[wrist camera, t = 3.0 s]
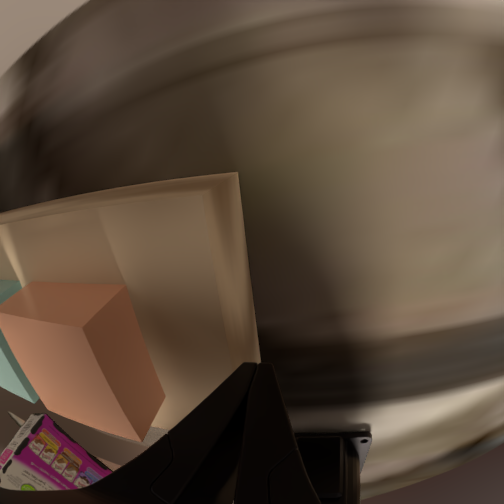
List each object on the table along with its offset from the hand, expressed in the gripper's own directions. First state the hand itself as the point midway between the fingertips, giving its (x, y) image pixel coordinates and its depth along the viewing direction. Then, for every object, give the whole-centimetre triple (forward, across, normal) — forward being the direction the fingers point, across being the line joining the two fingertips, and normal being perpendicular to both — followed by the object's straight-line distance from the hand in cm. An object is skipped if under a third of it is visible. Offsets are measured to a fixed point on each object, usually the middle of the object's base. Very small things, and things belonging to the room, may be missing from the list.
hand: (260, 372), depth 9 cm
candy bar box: (+5, +24, +21) cm, 32 cm away
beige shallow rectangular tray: (+5, +9, 0) cm, 10 cm away
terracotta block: (+1, +7, 0) cm, 7 cm away
